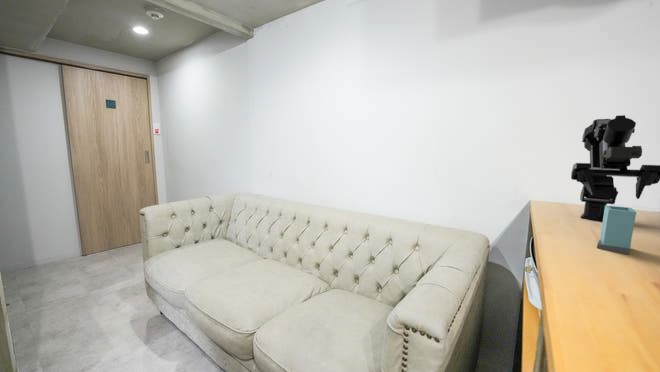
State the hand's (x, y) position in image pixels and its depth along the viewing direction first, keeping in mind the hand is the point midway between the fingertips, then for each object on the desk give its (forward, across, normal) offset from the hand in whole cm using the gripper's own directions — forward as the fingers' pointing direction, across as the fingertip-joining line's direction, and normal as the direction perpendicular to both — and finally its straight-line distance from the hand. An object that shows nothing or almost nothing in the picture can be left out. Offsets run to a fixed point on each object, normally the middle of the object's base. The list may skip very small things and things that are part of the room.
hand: (614, 196), depth 79 cm
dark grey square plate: (+14, 0, +4) cm, 15 cm away
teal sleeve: (+14, 0, +3) cm, 14 cm away
